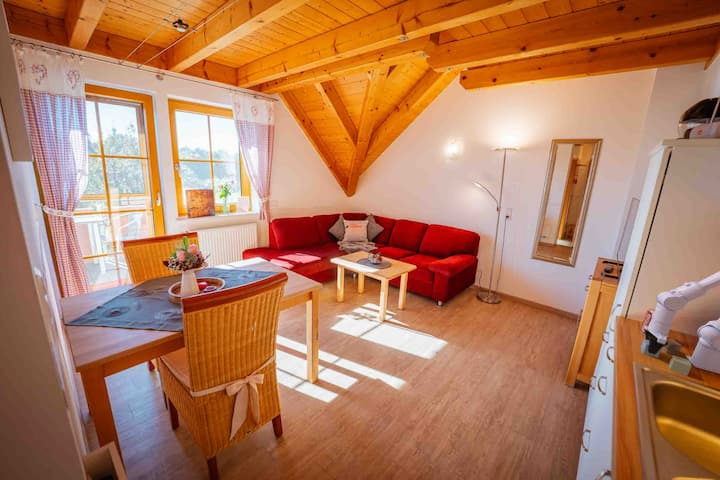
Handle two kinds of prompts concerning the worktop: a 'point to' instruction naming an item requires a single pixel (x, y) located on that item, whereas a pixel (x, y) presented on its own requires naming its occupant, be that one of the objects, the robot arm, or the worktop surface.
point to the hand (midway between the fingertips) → (650, 349)
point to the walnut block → (672, 347)
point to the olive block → (680, 365)
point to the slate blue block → (645, 349)
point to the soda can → (647, 320)
